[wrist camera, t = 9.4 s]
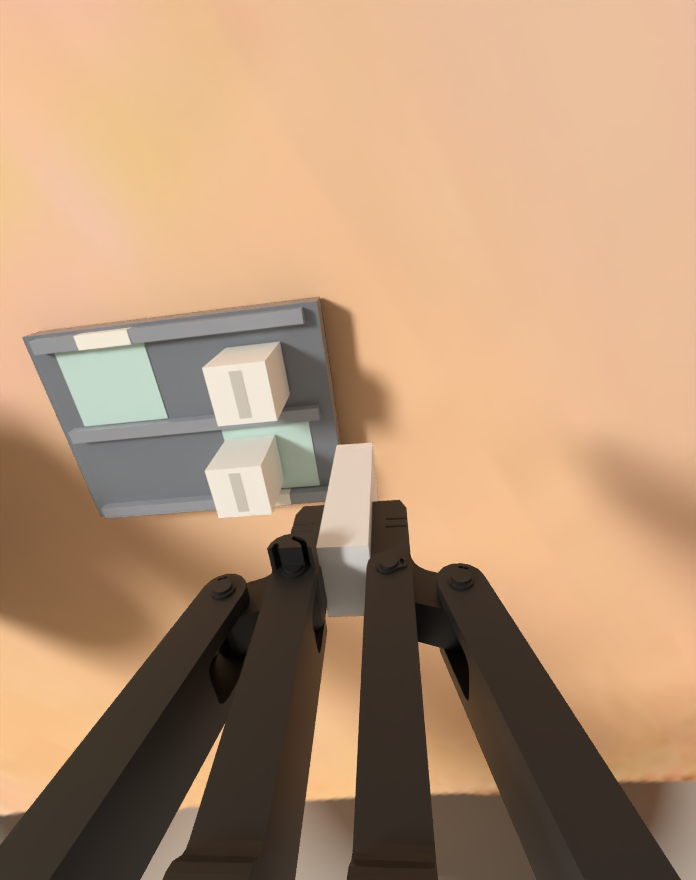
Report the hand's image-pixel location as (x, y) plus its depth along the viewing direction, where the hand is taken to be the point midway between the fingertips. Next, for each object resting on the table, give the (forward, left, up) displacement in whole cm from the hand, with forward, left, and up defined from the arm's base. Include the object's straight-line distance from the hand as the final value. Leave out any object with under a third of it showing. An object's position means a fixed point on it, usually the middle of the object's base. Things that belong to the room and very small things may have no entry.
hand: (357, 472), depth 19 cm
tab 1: (-8, +1, -15) cm, 17 cm away
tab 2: (-10, -7, -15) cm, 19 cm away
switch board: (-14, -3, -17) cm, 22 cm away
